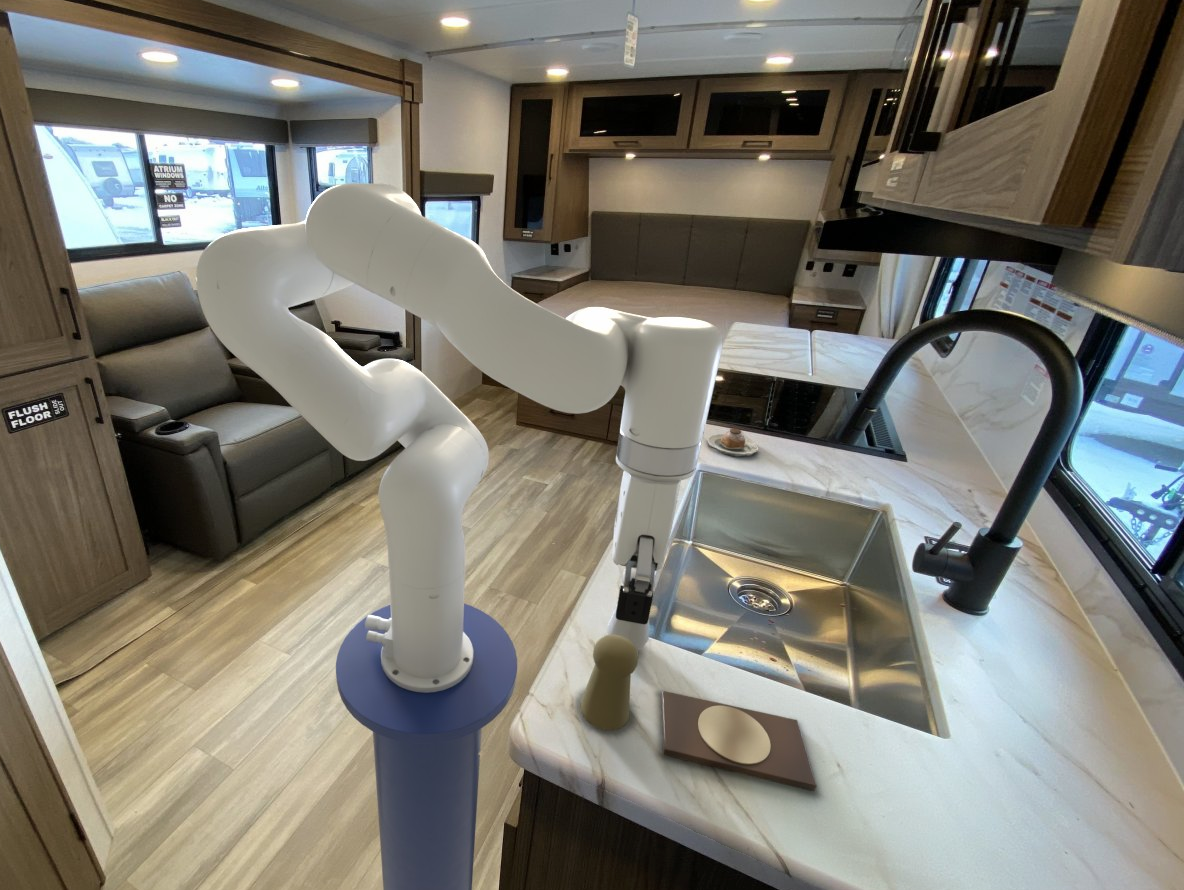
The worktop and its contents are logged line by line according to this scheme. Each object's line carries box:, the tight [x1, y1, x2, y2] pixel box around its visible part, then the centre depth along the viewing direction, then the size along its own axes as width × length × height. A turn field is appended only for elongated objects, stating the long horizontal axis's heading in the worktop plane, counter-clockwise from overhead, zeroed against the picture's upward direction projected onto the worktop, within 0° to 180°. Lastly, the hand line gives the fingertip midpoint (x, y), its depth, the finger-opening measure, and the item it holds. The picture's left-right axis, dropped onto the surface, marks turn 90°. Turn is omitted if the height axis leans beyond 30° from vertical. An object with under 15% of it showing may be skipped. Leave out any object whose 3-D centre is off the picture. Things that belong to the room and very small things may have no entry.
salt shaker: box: [606, 568, 657, 652], centre depth 79 cm, size 6×6×13 cm
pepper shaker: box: [579, 634, 639, 731], centre depth 70 cm, size 6×6×11 cm
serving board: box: [660, 690, 818, 792], centre depth 68 cm, size 16×9×1 cm, turn 75°
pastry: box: [707, 428, 759, 458], centre depth 144 cm, size 12×12×5 cm
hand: (631, 591), depth 63 cm, fingers open, 9 cm apart
